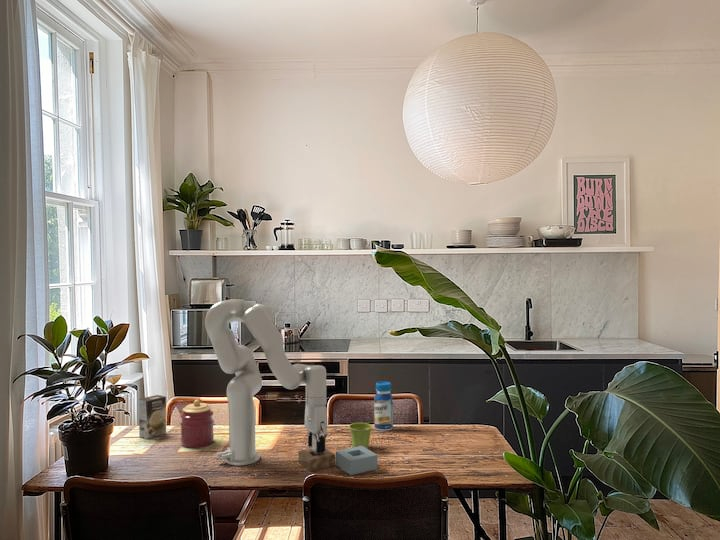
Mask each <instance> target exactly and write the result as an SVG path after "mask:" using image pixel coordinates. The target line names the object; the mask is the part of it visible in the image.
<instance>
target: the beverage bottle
mask: <svg viewBox="0 0 720 540" xmlns="http://www.w3.org/2000/svg"><path fill="white" fill-rule="evenodd" d="M391 390H392V383H391V382H390V381H377V382H376V383H375V391H376V393H375V394H374V399H373V400H374V402H373V407H374V408H373V409H374V412H373V413H374V429H375V430H377V431H381V432H385V431H391V430H393V428H394V402H393V399H394V398H393V397H394V396H393V395H392V393H391Z"/></svg>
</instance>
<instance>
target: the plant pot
mask: <svg viewBox="0 0 720 540" xmlns="http://www.w3.org/2000/svg"><path fill="white" fill-rule="evenodd" d="M348 428H349V432H350V435H351V443H352V444H351V445H352V448H353V447H358V446H363V447H365V448H367V449H368V450H369V444H370V438H371V432H372V429H373V425H372V424H370V423H367V422H353V423H350V424H349V425H348Z"/></svg>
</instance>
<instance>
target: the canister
mask: <svg viewBox="0 0 720 540" xmlns="http://www.w3.org/2000/svg"><path fill="white" fill-rule="evenodd" d="M213 415H214V411H213V410H212V406H211V405H209V404H207V403H206V402H201V401H200V400H199V399H195V400H194V401H193V403H188V404H187V405H186V406H185V407H183V408H182V413H181V414H180V418H181V422H180V436H181V437H180V443H181V446H183V447H184V448H189V449H190V448H201V447H206V446H209V445H211V444H212V443H213V442H214V439H215V434H214V421H215V420H214V419H213Z"/></svg>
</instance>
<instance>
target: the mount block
mask: <svg viewBox="0 0 720 540" xmlns="http://www.w3.org/2000/svg"><path fill="white" fill-rule="evenodd" d="M298 464H300V465H301V466H302V467H304V468H305V467H306V468H305V469H307V470H308V471H309V472H313V471H317V470H321V469H326V468H330V467H335V466H336V453H334V452H332V451H330V450H329V449H328V448H326V447H325V451H324V452H321V455H317V456H312V448H308V449H302V450H298Z"/></svg>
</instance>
